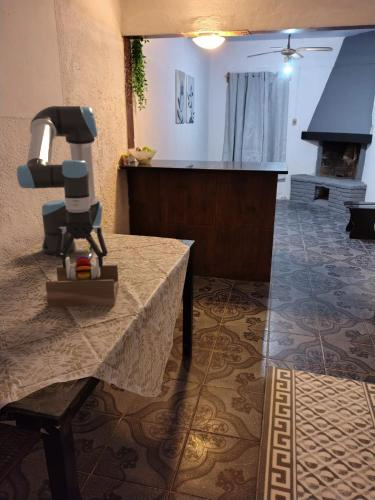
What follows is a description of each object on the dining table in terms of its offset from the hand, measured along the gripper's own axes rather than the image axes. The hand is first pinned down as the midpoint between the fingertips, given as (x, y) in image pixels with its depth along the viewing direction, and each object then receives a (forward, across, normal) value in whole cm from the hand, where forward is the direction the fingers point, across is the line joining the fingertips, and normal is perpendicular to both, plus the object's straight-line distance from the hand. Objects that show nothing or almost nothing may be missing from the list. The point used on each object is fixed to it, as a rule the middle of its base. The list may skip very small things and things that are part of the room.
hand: (83, 276), depth 127 cm
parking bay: (+7, 0, 0) cm, 7 cm away
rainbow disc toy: (0, 0, 0) cm, 1 cm away
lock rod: (-1, 0, +16) cm, 16 cm away
